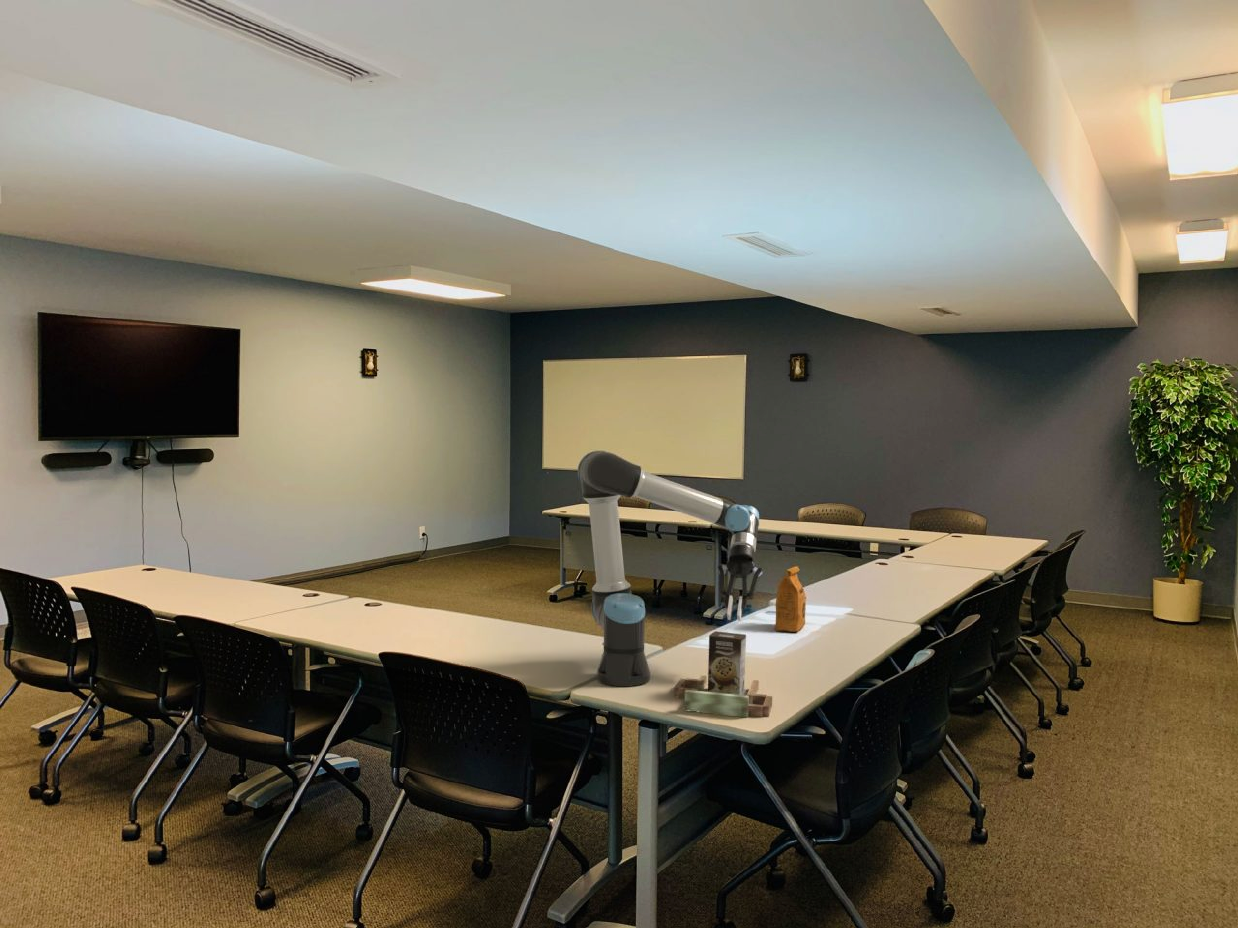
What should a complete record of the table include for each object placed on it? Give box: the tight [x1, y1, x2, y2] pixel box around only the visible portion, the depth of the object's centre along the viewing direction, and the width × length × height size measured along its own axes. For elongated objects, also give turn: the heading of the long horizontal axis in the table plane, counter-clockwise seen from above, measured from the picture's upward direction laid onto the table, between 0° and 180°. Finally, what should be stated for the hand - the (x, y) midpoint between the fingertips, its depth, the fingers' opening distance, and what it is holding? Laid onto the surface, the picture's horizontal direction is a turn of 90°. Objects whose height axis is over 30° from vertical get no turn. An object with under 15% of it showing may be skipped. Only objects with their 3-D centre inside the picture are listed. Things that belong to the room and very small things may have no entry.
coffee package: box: [775, 565, 807, 633], centre depth 308 cm, size 10×12×22 cm
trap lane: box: [673, 674, 773, 718], centre depth 230 cm, size 26×24×5 cm
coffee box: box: [707, 630, 747, 695], centre depth 235 cm, size 9×6×16 cm
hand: (733, 617), depth 246 cm, fingers open, 2 cm apart
